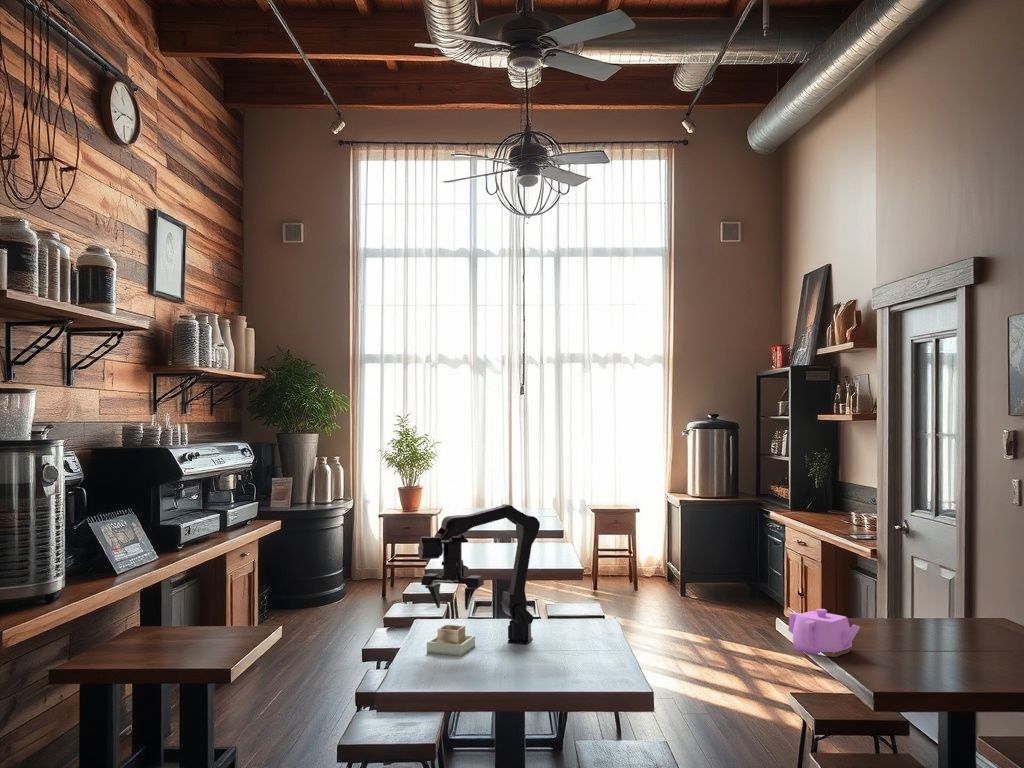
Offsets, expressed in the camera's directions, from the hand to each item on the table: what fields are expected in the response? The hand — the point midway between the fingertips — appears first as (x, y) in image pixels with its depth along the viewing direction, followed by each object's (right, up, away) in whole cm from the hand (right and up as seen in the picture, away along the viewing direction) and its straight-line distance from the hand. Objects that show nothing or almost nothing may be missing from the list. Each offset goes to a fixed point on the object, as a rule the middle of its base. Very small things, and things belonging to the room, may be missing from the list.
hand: (452, 608), depth 251 cm
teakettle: (+113, -12, -5) cm, 113 cm away
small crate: (0, -11, -2) cm, 11 cm away
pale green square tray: (0, -12, -3) cm, 12 cm away
